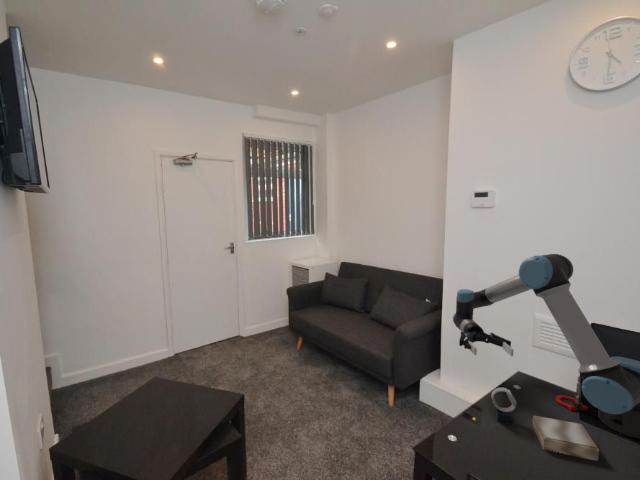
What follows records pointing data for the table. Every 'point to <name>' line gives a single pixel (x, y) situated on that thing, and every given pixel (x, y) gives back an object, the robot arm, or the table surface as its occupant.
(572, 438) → the plate
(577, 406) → the tow hook
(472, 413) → the table surface
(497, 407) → the watch
